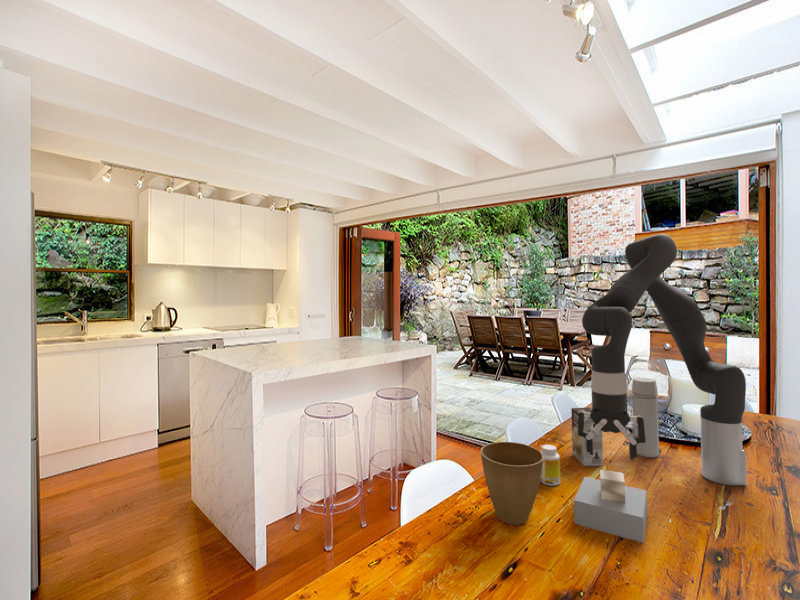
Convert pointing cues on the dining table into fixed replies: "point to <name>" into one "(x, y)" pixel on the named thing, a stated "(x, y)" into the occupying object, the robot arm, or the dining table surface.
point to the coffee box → (580, 442)
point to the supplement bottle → (550, 466)
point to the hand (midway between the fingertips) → (610, 456)
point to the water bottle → (646, 415)
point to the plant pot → (512, 479)
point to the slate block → (611, 511)
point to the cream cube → (612, 486)
